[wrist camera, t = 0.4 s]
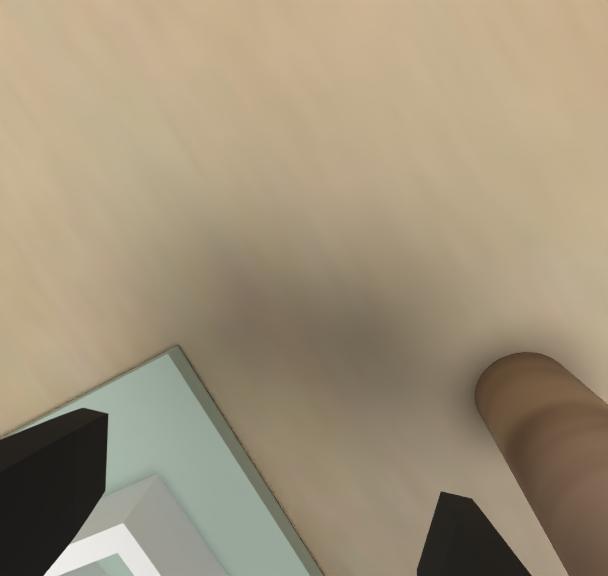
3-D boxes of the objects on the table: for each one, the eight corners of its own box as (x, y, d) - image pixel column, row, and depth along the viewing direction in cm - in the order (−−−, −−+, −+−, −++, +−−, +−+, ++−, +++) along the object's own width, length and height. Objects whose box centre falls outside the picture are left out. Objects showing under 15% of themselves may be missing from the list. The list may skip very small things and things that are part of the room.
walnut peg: (587, 415, 17) (782, 604, 9) (497, 448, 18) (604, 644, 10) (551, 337, 16) (727, 469, 9) (459, 375, 17) (543, 525, 9)
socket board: (353, 622, 21) (352, 717, 17) (129, 684, 25) (88, 774, 21) (177, 345, 19) (131, 385, 15) (-44, 461, 22) (-128, 517, 18)
